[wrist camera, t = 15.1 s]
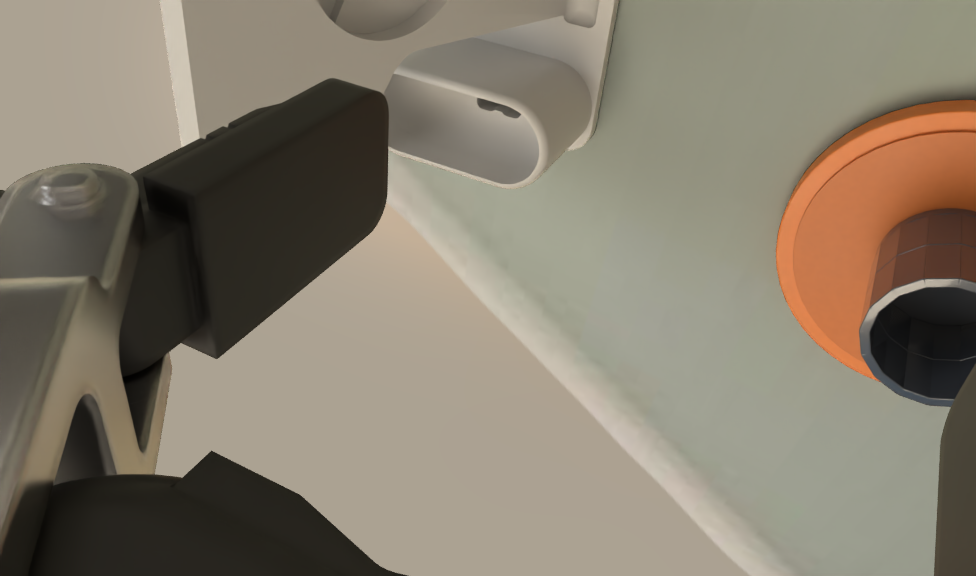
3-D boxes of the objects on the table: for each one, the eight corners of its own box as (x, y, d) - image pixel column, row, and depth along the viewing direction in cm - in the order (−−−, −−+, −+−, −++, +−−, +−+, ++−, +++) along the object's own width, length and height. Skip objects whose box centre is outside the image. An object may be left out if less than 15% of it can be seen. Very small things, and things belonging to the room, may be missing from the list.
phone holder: (590, 158, 42) (411, 353, 29) (420, 107, 45) (187, 261, 32) (663, -241, 32) (436, -225, 18) (436, -271, 35) (103, -276, 22)
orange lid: (746, 318, 43) (739, 335, 42) (838, 62, 35) (833, 73, 33) (1039, 420, 39) (1041, 442, 37) (1226, 155, 30) (1236, 172, 29)
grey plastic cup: (854, 299, 38) (838, 374, 33) (903, 190, 34) (892, 257, 30) (989, 342, 36) (991, 428, 32) (1055, 232, 33) (1068, 311, 28)
